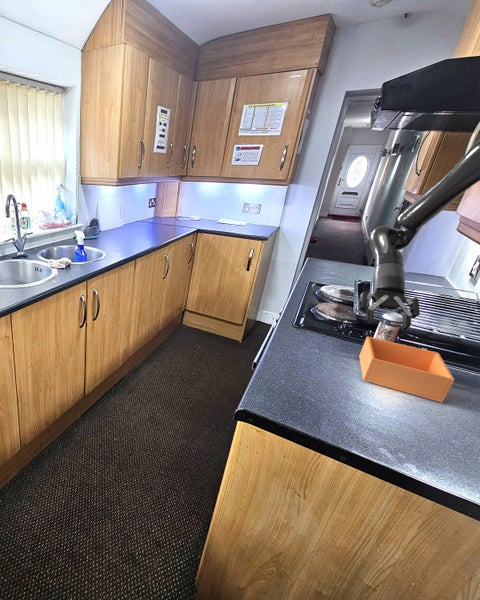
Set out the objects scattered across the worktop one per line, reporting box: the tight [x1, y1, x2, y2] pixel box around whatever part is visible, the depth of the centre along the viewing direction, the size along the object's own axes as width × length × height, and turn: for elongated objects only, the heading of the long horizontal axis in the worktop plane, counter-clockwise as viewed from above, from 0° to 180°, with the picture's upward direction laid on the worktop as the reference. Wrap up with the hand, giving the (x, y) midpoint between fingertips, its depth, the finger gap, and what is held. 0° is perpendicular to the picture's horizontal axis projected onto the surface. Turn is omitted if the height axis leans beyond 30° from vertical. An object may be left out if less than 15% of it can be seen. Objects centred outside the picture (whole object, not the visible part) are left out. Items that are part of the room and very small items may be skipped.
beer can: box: [373, 311, 403, 343], centre depth 101 cm, size 5×5×12 cm
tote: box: [358, 336, 455, 404], centre depth 88 cm, size 15×15×7 cm
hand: (387, 325), depth 101 cm, fingers open, 8 cm apart
